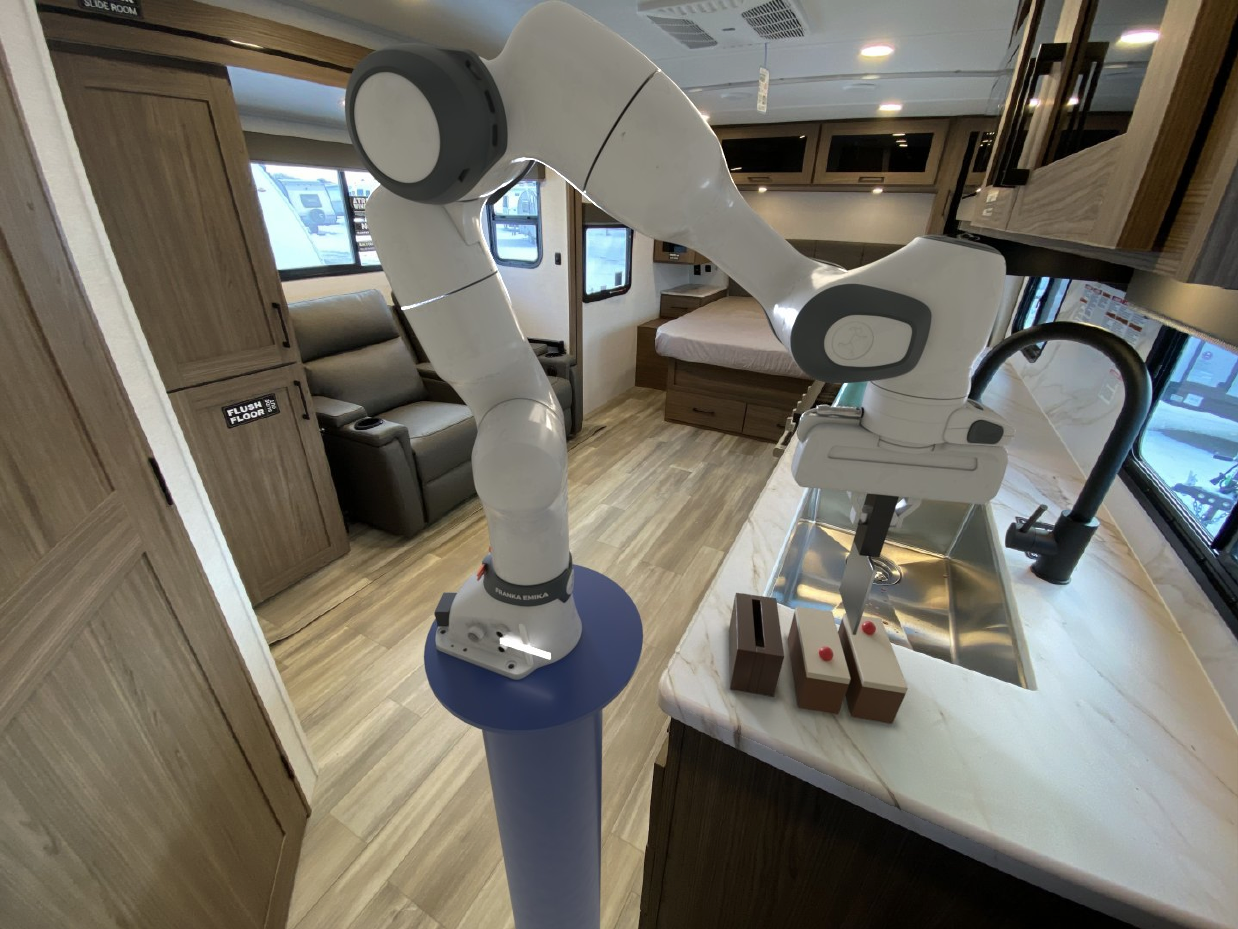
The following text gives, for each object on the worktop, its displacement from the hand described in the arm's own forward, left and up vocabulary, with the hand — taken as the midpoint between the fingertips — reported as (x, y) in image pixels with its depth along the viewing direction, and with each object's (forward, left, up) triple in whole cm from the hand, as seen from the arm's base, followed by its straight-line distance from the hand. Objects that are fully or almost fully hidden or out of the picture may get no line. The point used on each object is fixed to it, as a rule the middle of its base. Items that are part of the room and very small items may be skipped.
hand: (874, 523), depth 57 cm
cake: (+2, +2, -28) cm, 28 cm away
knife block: (-10, +2, -28) cm, 29 cm away
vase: (+22, +93, -28) cm, 100 cm away
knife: (0, 0, -14) cm, 14 cm away
